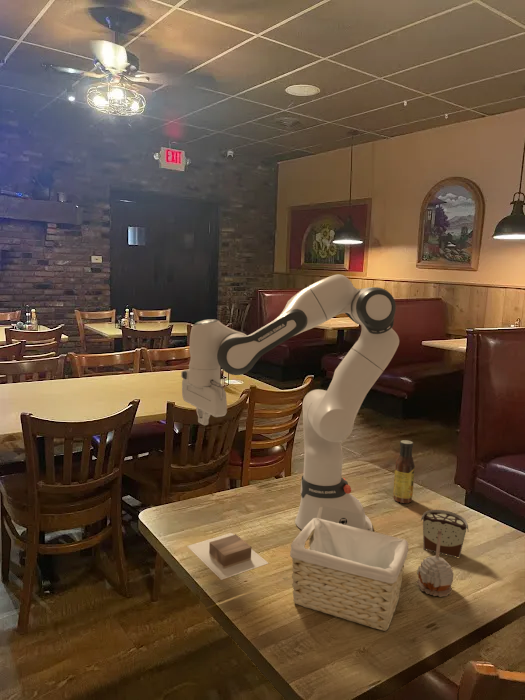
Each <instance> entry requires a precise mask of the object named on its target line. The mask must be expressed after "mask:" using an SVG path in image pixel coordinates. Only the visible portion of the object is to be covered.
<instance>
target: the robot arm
mask: <svg viewBox="0 0 525 700" xmlns="http://www.w3.org/2000/svg"><path fill="white" fill-rule="evenodd" d="M396 307H397V305H396V301H395V298H394V297H393V294H392V293H390V292H389V291H388V290H386V289H385V288H382V287H378V286H377V287H374V286H373V287H371V286H370V287H369V286H368V287H365V288H356V287H355V286H354V284H353V283H352V281H351V280H350V279H349V278H348V277H347V276H346V275H343V274H340V273H339V274H333V275H330V276H328V277H324V278H322V279H320V280H318V281H316V282H314V283H312V284H309V285H308V286H305V288H303V289H301V290H300V291H298V292H297V293H296V294H294V295H293V296H292V297H291V298H290V299H289V300H287V302H286V305H285V306H284V308H283V310H282V312H281V313H280V314H279V315H278V316H277V317H276V318H275V319H274V320H271V322H269V323H267V324H266V325H264V326H261V327H260V328H259V329H257V330H256V331H254V332H252V333H250V334H248V335H247V334H246V333H244V332H241V331H238V330H235V329H233V328H230V327H228V326H227V325H225V324H224V323H222V322H221V321H220V320H218V319H216V318H214V319H212V318H210V319H203V320H200V321H197V322H195V323H194V324H193V325H192V326H191V329H190V334H189V345H188V346H189V347H188V348H189V350H188V351H189V355H190V359H189V364H188V369H185V370H181V372H180V373H181V374H180V377H181V379H182V380H181V394H182V399H183V402H185V403H186V404H190V405H191V406H194V407H195V408H196V409H195V410H196V414H197V422H198V423H199V424H201V425H203V426H208V425H209V420H210V417H211V416H212V417H214V418H221V417H224V416H226V414H227V412H228V405H227V404H228V403H227V402H228V401H227V393H226V390H225V388H224V387H223V385H222V384H223V383H221V369H222V370H223V371H224V372H226V373H227V374H229V375H232V376H241V375H245V374H247V373H248V372H249V371H251V370H252V369H253V367H254V366H255V364H256V363H257V362H258V361H259V359H260V358H261V357H262V356H264V355H265V354H267V353H268V352H270V351H271V350H273V349H274V348H276V347H277V346H279V345H281V344H283V343H284V342H286V341H288V340H289V339H291V338H292V337H295V336H297V335H299V334H301V333H302V334H303V332H306V331H309V330H311V329H314V328H316V327H319V326H320V325H322V324H324V323H325V322H327V321H329V320H331V319H332V318H334V317H337V316H339V315H340V314H345V315H346V316H347V317H348V318H349V319H350V320H351V321H353V323H355V324H357V325H359V326H361V332H360V336H359V337H358V339H357V340H356V341H355V343H354V344H353V346H352V347H351V348H350V350H348V352H347V353H346V354H345V356H344V358H343V359H342V360H341V361H340V362H339V364H338V366H337V367H336V368H335V369H334V372H333V376H332V378H331V379H332V380H331V382H330V383H329V386H328V388H327V390H326V389H325V390H324V389H321V388H320V389H319V388H318V389H312V390H310V391H309V392H307V393H306V395H305V396H304V397H303V401H302V404H301V405H302V407H301V408H302V429H303V447H304V454H303V455H304V459H303V475H302V476H301V480H300V496H301V498H300V504H299V507H298V511H297V514H296V517H295V520H294V522H295V526H297V527H298V528H299V529H300V530H301V531H302V530H303V529H304V527H305V526H306V525H307V524H308V523H309V522H310V521H311V520H312V519H313V518H319V519H323V520H327V521H331V522H335V523H339V524H343V525H347V526H351V527H355V528H359V529H364V530H368V531H372V532H374V531H373V523H372V520H371V519H370V518H369V517H368V515H366V512H365V509H364V506H363V503H362V502H361V501H360V499H358V498H357V497H356V496H354V495H353V494H352V493H351V492H352V488H351V485H349V483H348V481H347V480H346V478H345V477H342V474H343V473H342V472H343V461H344V452H343V449H342V442H344V441H345V440H347V439H348V438H349V437H350V435H351V434H352V432H353V429H354V423H355V419H356V417H357V415H358V413H359V411H360V409H361V406H362V404H363V402H364V400H365V399H366V397H367V394H368V393H369V392H370V390H371V388H372V387H373V386H374V384H375V383H376V382H377V380H379V377H380V376H381V375H383V373H384V371H385V369H386V368H387V367H388V366H389V364H390V362H391V361H392V359H393V357H394V355H395V354H396V352H397V350H398V347H399V345H400V337H399V335H398V333H397V332H396V331H395V330H394V329H393V327H394V322H395V321H394V320H395V314H396Z"/></svg>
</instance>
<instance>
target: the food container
mask: <svg viewBox="0 0 525 700" xmlns="http://www.w3.org/2000/svg"><path fill="white" fill-rule="evenodd" d="M420 522H422V535H423V537H422V538H423V540H422V541H423V543H422V544H423V546H422V547H423V550H424V549H427V550H426V551H428V550H430V551H429V552H432V551H434V552H433V553H436V548H437V538H438V530H441V531H442V533H441V543H440V552H439V554H440V553H443V554H442V555H444V554H447V555H446V556H448V555H450V556H449V557H452V556H456V557H460V558H461V553H462V549H463V545H464V541H465V537H466V532H469V525H468V521H467V520H466V518H464V517H463V516H461V515H460V514H457V513H456V512H453V511H449V510H443V509H430V510H426V511H425V512H423V514H422V516H421V518H420ZM456 557H455V558H456Z"/></svg>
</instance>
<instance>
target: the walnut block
mask: <svg viewBox="0 0 525 700" xmlns="http://www.w3.org/2000/svg"><path fill="white" fill-rule="evenodd" d="M251 549H252V546H251V545H250V544H248V543H247V541H245V540H243V538H241V537H240V536H238V535H237V534H234V535H232V536H229V537H225V538H222V539H219V540H215V541H212V542H210V545H209V555H210V556H211V557H212V558H213V559H214V560H215V561H216V562H217V563H219V564H220V565H221V566H222V567H223V568H224V569H225V568H228V567H231V566H234V565H237V564H240V563H243V562H246V561H249V560H251Z"/></svg>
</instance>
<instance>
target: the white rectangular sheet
mask: <svg viewBox="0 0 525 700" xmlns="http://www.w3.org/2000/svg"><path fill="white" fill-rule="evenodd" d="M232 535H235V534H234V533H232V532H229V533H226V534H223V535H222V534H221V535H218V536H216V537H212V538H209V539H205V540H203V541H199V542H196V543H192V544H189V545H186V548H188V549H189V550H190V551H191V552H192V553H194V555H195V556H196V557H197V558H198V559H199V560H200V561H201V563H203V564H204V565H205V566H207V568H208V569H209V570H210V571H212V573H213V574H215V575H216V577H218V579H220V581H222V580H225V579H228V578H230V577H234V576H236V575H240V574H242V573H245V572H248V571H251V570H254V569H257V568H260V567H263V566H265V565H268V564H269V562H268V561H267V560H266V559H264V558H263V557H262V556H261V555H260V554H259V553H257V552H256V551H255V550H254V549H252V548H251V560H249V561H246V562H243V563H240V564H237V565H234V566H231V567H228V568H225V569H224V568H223V567H222V566H221V565H220V564H219V563H217V562H216V561H215V560H214V559H213V558H212V557H211V556H210V555H209V545H210V542H212V541H215V540H219V539H222V538H225V537H229V536H232Z"/></svg>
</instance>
